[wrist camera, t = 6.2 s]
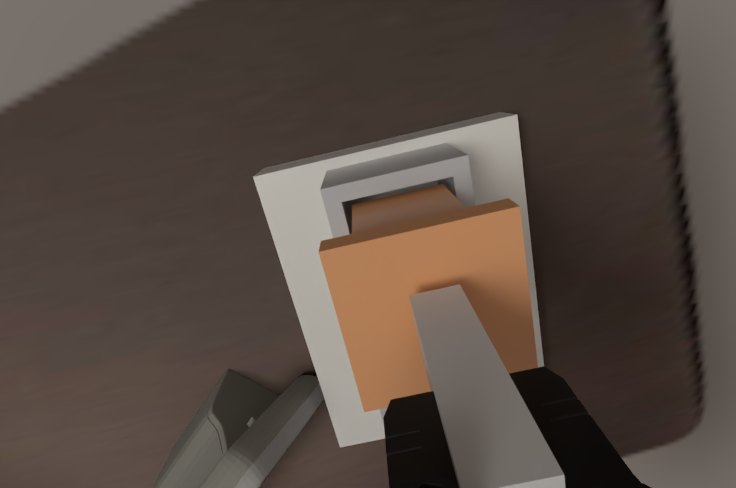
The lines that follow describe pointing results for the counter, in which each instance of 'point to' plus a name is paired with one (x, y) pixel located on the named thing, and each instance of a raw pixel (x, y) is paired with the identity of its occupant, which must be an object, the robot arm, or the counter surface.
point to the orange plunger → (425, 283)
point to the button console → (334, 219)
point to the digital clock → (240, 434)
